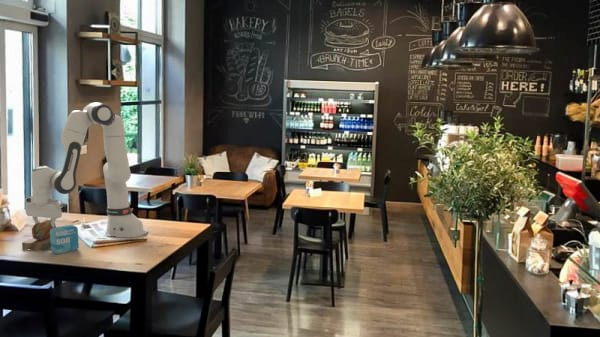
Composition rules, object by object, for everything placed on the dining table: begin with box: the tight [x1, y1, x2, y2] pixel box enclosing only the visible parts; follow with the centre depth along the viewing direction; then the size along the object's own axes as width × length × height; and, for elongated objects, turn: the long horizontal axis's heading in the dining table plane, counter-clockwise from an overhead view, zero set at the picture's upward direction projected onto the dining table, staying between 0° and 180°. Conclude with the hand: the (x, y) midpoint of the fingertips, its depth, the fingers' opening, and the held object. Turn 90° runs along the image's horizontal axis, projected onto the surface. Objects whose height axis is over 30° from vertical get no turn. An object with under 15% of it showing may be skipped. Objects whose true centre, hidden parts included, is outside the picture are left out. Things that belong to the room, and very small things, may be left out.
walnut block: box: [21, 237, 51, 252], centre depth 305 cm, size 12×20×4 cm, turn 168°
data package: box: [50, 224, 80, 255], centre depth 293 cm, size 12×4×12 cm, turn 137°
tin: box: [31, 219, 57, 240], centre depth 305 cm, size 15×3×8 cm, turn 164°
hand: (44, 225), depth 304 cm, fingers open, 8 cm apart
